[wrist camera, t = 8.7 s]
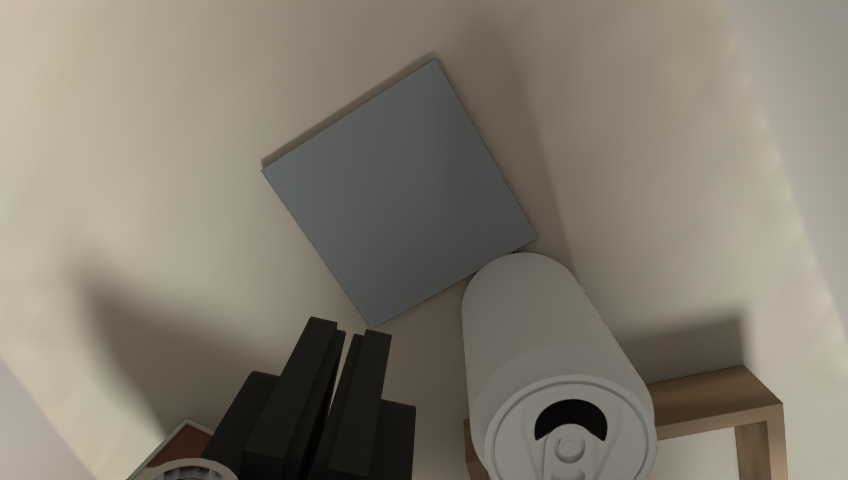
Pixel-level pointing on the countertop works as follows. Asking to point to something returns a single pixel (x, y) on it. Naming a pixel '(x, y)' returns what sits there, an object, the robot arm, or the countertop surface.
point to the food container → (177, 447)
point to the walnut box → (709, 419)
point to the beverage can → (550, 379)
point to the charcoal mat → (401, 197)
